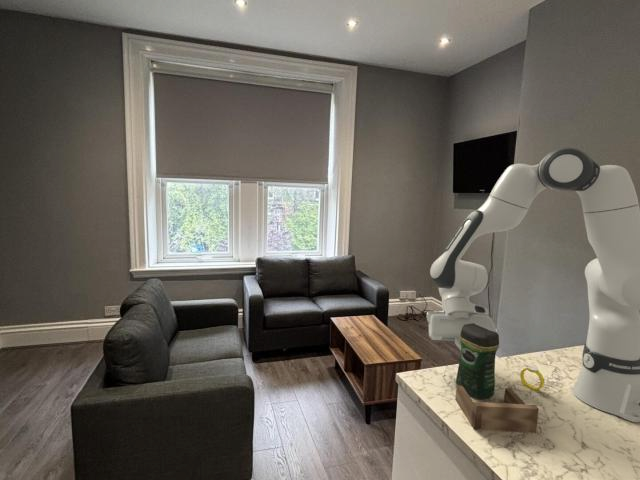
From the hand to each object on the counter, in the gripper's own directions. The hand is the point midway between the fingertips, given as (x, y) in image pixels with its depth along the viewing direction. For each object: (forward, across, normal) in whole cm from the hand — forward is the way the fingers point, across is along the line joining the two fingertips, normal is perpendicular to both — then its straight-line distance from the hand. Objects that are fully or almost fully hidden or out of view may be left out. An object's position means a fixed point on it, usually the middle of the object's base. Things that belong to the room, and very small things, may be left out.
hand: (467, 354), depth 101 cm
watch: (+8, +17, +3) cm, 19 cm away
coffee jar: (+10, 0, 0) cm, 10 cm away
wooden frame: (+17, 0, -7) cm, 18 cm away
